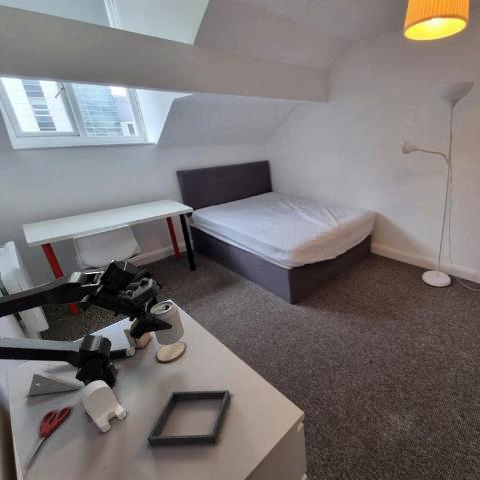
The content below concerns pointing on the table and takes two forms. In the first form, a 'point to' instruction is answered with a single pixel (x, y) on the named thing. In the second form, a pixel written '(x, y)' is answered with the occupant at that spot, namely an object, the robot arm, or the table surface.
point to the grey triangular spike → (48, 385)
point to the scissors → (49, 427)
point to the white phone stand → (101, 404)
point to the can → (170, 317)
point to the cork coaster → (170, 352)
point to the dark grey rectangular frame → (189, 439)
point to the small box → (136, 342)
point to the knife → (112, 355)
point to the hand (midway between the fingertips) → (171, 319)
